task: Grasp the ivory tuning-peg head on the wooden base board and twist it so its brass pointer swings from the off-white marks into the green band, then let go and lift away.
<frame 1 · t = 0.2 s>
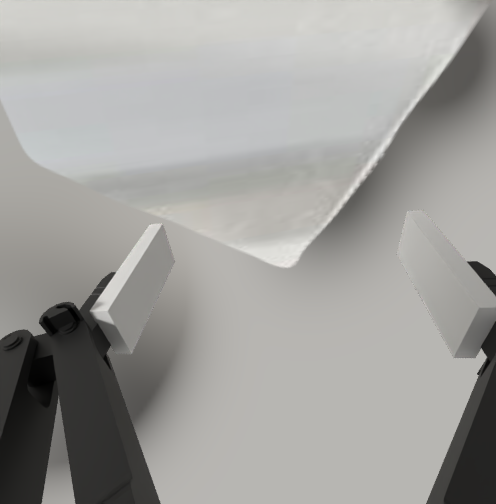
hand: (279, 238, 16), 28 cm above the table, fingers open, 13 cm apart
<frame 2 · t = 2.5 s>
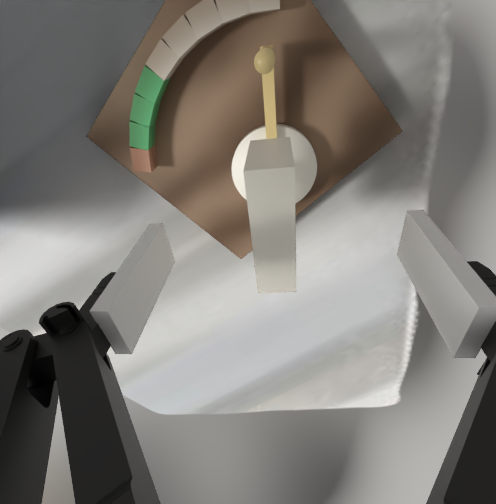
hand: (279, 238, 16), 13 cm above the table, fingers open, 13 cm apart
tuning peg: (271, 164, 19), point 8 cm above the table, hinge at -40.0°
wooden base board: (273, 158, 27), on the table
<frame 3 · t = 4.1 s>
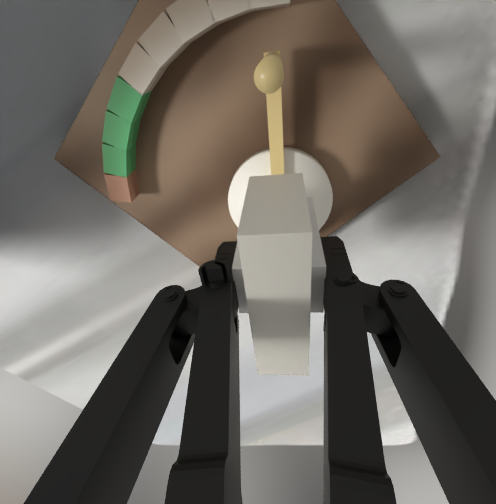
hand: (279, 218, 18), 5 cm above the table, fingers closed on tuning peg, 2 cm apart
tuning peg: (277, 204, 15), point 8 cm above the table, hinge at -40.0°, touching gripper
wooden base board: (279, 184, 22), on the table
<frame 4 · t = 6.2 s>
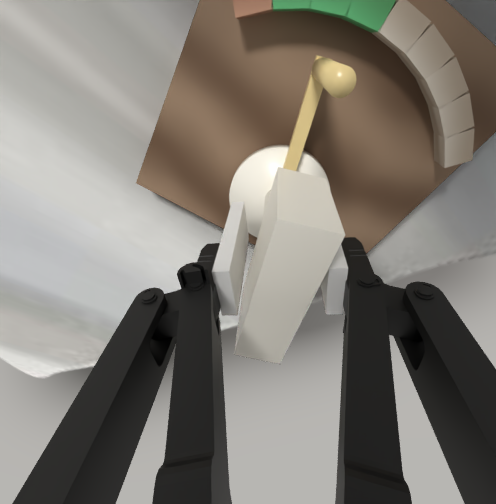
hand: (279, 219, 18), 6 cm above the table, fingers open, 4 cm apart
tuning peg: (290, 200, 15), point 8 cm above the table, hinge at 17.4°
wooden base board: (278, 181, 23), on the table
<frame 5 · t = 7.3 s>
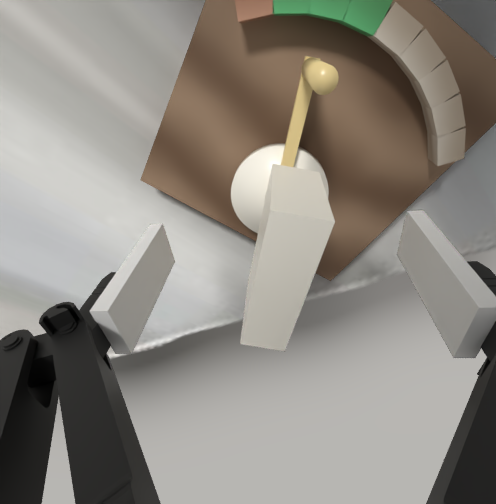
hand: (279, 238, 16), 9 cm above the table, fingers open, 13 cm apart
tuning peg: (287, 195, 16), point 8 cm above the table, hinge at 21.0°
wooden base board: (278, 179, 24), on the table
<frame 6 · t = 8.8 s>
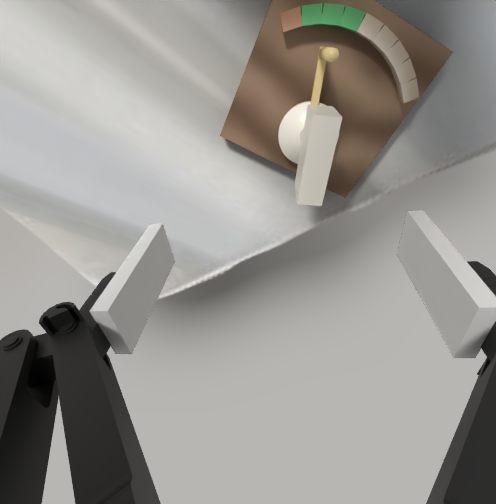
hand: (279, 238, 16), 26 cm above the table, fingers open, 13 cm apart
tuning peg: (316, 123, 29), point 8 cm above the table, hinge at 21.2°
wooden base board: (306, 128, 37), on the table
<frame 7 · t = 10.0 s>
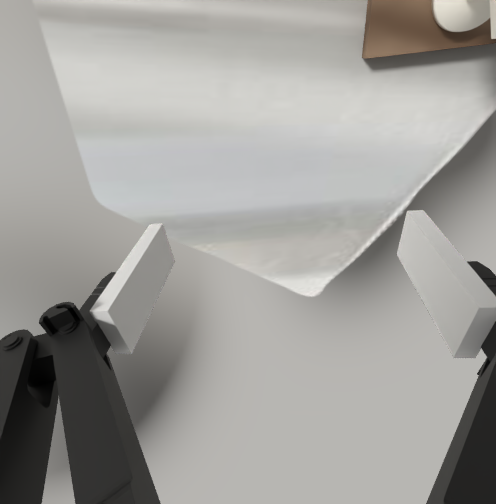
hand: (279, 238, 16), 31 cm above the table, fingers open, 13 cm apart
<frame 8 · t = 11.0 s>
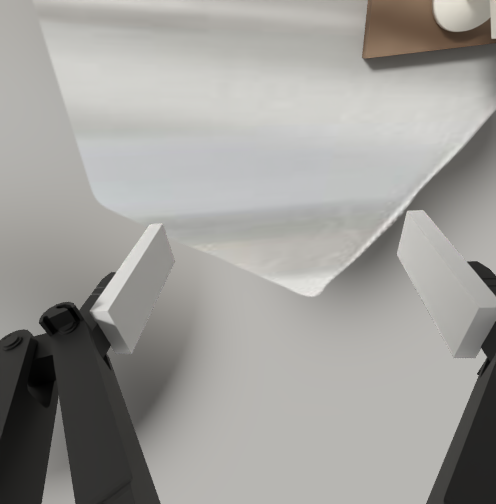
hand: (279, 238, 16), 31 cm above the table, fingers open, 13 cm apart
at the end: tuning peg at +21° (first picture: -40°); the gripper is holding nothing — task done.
